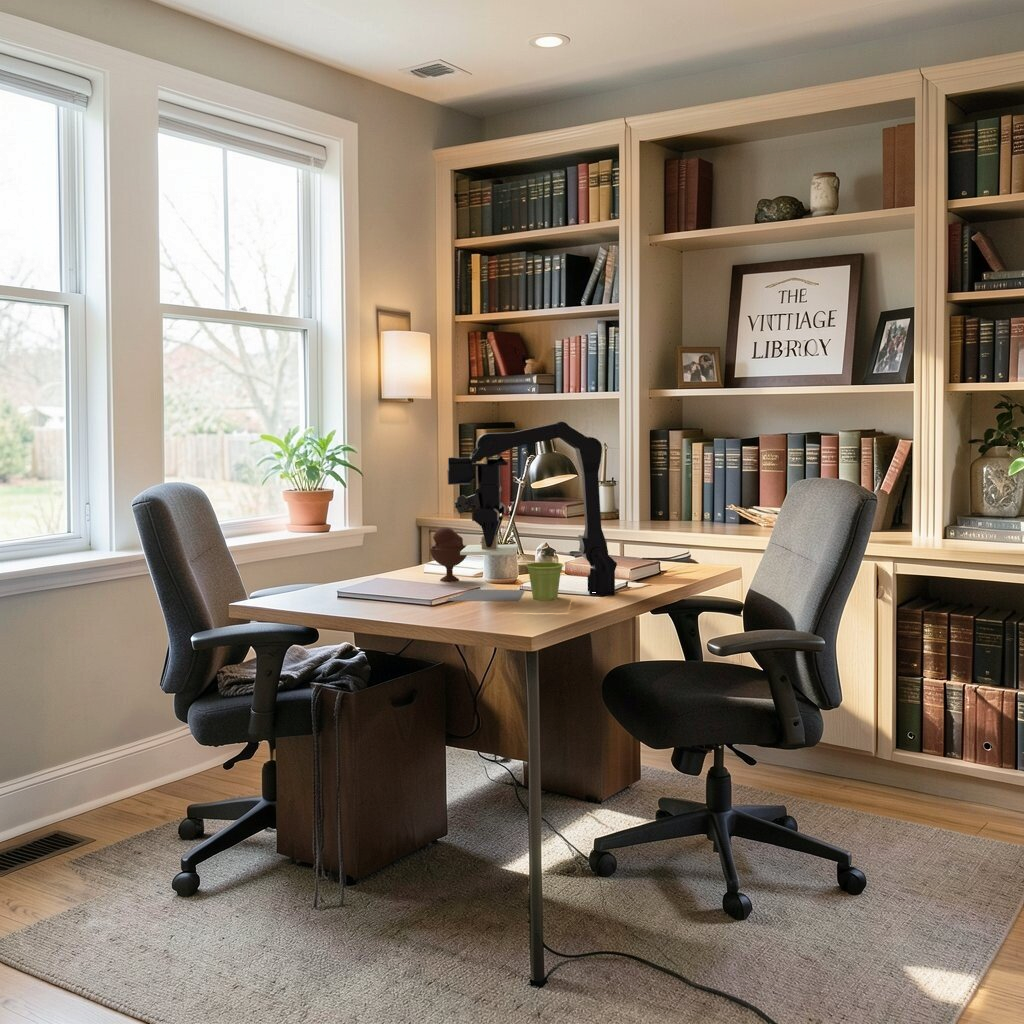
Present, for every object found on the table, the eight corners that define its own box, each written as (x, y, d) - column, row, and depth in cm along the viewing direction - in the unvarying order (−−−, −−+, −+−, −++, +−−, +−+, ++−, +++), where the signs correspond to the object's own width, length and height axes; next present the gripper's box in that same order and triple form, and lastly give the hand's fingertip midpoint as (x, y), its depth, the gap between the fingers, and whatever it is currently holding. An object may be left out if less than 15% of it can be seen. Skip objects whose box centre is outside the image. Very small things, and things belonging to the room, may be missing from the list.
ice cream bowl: (464, 585, 288) (464, 529, 286) (424, 584, 290) (423, 528, 288) (474, 578, 298) (473, 524, 297) (435, 577, 300) (434, 524, 299)
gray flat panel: (524, 591, 278) (524, 589, 278) (518, 602, 262) (518, 601, 262) (456, 590, 280) (455, 589, 280) (445, 601, 264) (445, 600, 264)
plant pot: (523, 602, 262) (523, 567, 261) (528, 595, 272) (528, 561, 271) (561, 603, 261) (561, 567, 260) (565, 596, 270) (565, 561, 269)
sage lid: (518, 547, 275) (518, 532, 275) (512, 555, 262) (512, 539, 262) (468, 547, 277) (467, 533, 276) (460, 554, 264) (459, 539, 263)
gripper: (462, 481, 278) (463, 541, 279) (450, 487, 259) (452, 551, 261) (505, 481, 277) (506, 541, 278) (496, 486, 258) (497, 551, 260)
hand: (490, 546), depth 269 cm, fingers closed on sage lid, 4 cm apart
